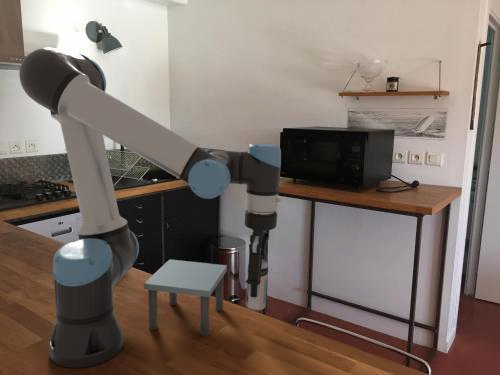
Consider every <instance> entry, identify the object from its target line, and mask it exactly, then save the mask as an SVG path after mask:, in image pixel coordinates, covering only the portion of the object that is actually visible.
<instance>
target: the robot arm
mask: <svg viewBox="0 0 500 375" xmlns="http://www.w3.org/2000/svg"><path fill="white" fill-rule="evenodd" d="M18 74H19V83H20V85H21V87H22V89H23V92H25V94H26V95H27V96H28V97H29V98H30V99H32V100H33V101H34V103H37V104H38V105H40V106H41V107H43V108H46V109H47V110H49V111H50V116H51V118H52V119H54V120H55V121H57V122H58V123H59V124H60V128H61V132H62V135H63V141H64V145H65V151H66V155H67V160H68V163H69V169H70V172H71V177H72V181H73V186H74V191H75V196H76V198H77V203H78V208H79V212H80V213H79V214H80V218H81V221H82V224H81V226H80V227H79V229H78V230H77V236H78V239H77V240H75V241H73V242H72V241H70V242H68V243H66V244H64V245H61V247H59V248H58V249H57V250H56V252H55V253H54V256H53V262H52V263H53V264H52V265H53V266H52V276H53V286H54V287H53V288H54V298H55V299H54V301H55V312H56V315H55V316H56V321H55V324H54V326H53V328H54V329H53V330H52V331H53V332H52V333H51V334H52V335H51V338H50V341H49V356H50V359H51V360H52V362H53V363H55V365H56V364H57V365H59V366H61V367H64V368H69V369H70V368H71V369H72V368H73V369H75V368H76V369H77V368H78V369H79V368H87V367H92V366H96V365H99V364H101V363H105V362H107V361H108V360H110V359H112V358H113V357H115V356H116V355H117V354H118V353H119V352H120V351H121V350H122V348H123V345H124V341H123V340H124V338H123V336H124V335H123V331H122V328H121V327H120V323H119V322H118V321H119V320H118V319H117V316H116V314H115V311H114V286H115V285H117V283H118V282H119V281H120V280H121V279H122V278H123V277H124V275H126V274H127V273H128V272H129V271H130V270H131V269H132V268H133V266H134V264H135V262H136V260H137V258H138V256H139V252H140V246H139V240H138V238H137V236H136V234H135V233H134V232H133V231H131V230H130V228H129V224H128V220H127V219H125V218H124V217H122V216H121V215H120V212H119V207H118V202H117V198H116V192H115V187H114V182H113V179H112V173H111V169H110V164H109V157H108V155H107V149H106V144H105V140H104V137H107V139H110V140H111V141H113V142H115V143H117V144H119V145H120V146H122V147H124V148H126V149H127V150H129V151H131V152H132V153H134V154H135V155H138V156H139V157H141V158H143V160H144V159H145V160H146V161H148V162H150V163H152V164H153V165H155V166H156V167H158V168H160V169H161V170H163V171H166V172H167V173H168V174H170V175H172V176H174V177H176V178H178V179H179V180H182V182H183V183H186V184H187V185H189V188H190V190H191V191H192V192H193V194H195V195H196V196H198V197H199V198H202V199H205V200H207V199H214V198H216V197H217V198H218V196H220V195H222V194H223V193H224V191H226V190H227V189H228V187H229V185H230V184H234V185H246V191H245V201H244V202H245V204H244V207H245V212H244V225H245V227H246V228H248V229H251V230H252V234H250V237H249V242H250V243H249V244H248V253H249V254H248V264H249V267H248V266H247V275H248V280H247V279H246V280H245V283H246V284H247V283H248V284H249V295H248V308H247V309H249V308H252V309H259V308H260V292H261V282H260V277H261V267H262V259H264V260H266V261H268V247H269V240H270V239H269V238H270V231H271V230H274V229H276V228H277V223H278V212H277V210H278V204H279V203H280V202H281V201H282V199H281V197H279V193H280V191H279V190H280V180H281V179H280V178H281V167H282V166H281V164H282V157H281V156H282V150H281V148H280V147H279V146H278V145H277V144H272V143H258V142H257V143H256V142H255V143H250V144H249V145H248V149H247V151H234V150H223V149H222V150H220V149H214V148H210V149H203V148H201V147H199V145H196V144H195V143H193V142H191V141H189V140H188V139H186V138H184V137H183V136H181V135H179V134H178V133H176V132H174V131H172V129H169V128H167V127H166V126H164V125H162V124H161V123H159V122H157V121H155V120H153V119H152V118H150V117H148V116H146V115H145V114H143V113H141V112H140V111H138V110H136V109H135V108H133V107H131V106H130V105H128V104H126V103H124V102H123V101H121V100H120V99H117V98H116V97H114V96H112V95H111V94H109V93H107V92H106V89H107V80H106V76H105V73H104V70H102V68H101V67H100V65H99V64H98V63H97V62H95V61H94V60H93V59H92V58H90V57H88V56H86V55H84V54H81V53H78V52H70V51H66V50H63V49H62V50H61V49H58V48H53V47H42V48H38V49H36V50H33V51H32V52H30V53H28V54H27V55H26V56H25V57H24V59H23V61H22V62H21V64H20V67H19V72H18Z"/></svg>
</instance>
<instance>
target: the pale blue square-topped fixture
mask: <svg viewBox="0 0 500 375" xmlns="http://www.w3.org/2000/svg"><path fill="white" fill-rule="evenodd" d="M227 271H228V265H227V264H226V265H225V264H219V263H218V264H216V263H209V262H208V263H207V262H197V261H189V260H188V261H186V260H180V259H179V260H177V259H168V261H166V262H165V263H164V264H163V265H162V266H161V267H160V268H158V270H156V272H154V273H153V274H152V275H151V276H150V277H149V278H148V279H147V280H146V281H144V282H143V290H147V291H148V292H147V293H148V294H147V295H148V297H147V298H148V328H149V329H148V330H150V331H154V330H155V331H156V330H157V329H158V292H163V293H169V294H168V297H169V299H168V302H169V304H168V305H169V306H175V305H177V304H178V295H177V294H180V295H189V296H197V297H200V319H199V320H200V329H199V330H200V337H202V338H207V337H209V335H210V296H211V295H212V294H213V293H214V291H215V311H216V312H223V310H224V283H225V282H224V278H225V277H224V276H225V275H226V273H227Z"/></svg>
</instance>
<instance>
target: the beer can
mask: <svg viewBox="0 0 500 375" xmlns="http://www.w3.org/2000/svg"><path fill="white" fill-rule="evenodd" d="M267 261H268V260H267ZM267 261H266V260H264V259H262V267H261V277H260V282H261V292H260V308H259V309H252V308H248V295H249V284H248V283H246V293H245V294H246V296H245V306H246V308H247V309H248V310H250V311H254V312H259V311H261V310H264V309H265V308H266V301H267V288H268V287H267V286H268V274H269V264H268V262H267ZM248 267H249V263H248V264H247V268H248ZM246 280H248V274H247V278H246Z"/></svg>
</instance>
